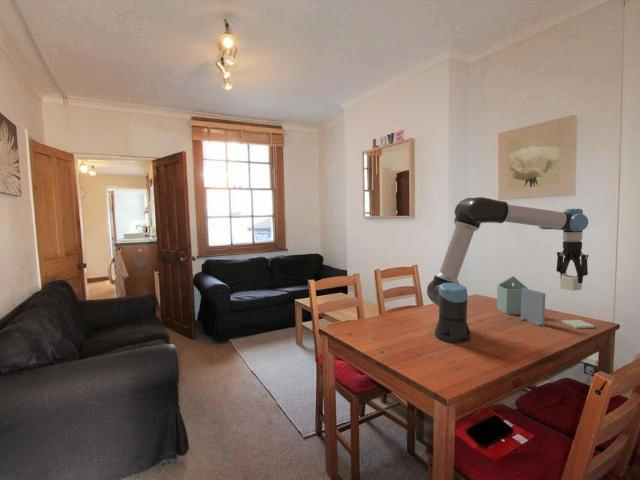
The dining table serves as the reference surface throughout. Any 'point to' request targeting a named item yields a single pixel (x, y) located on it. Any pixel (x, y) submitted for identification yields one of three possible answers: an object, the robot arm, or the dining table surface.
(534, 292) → the board
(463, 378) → the dining table surface
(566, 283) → the letter cube
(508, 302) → the planter
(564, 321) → the pad
